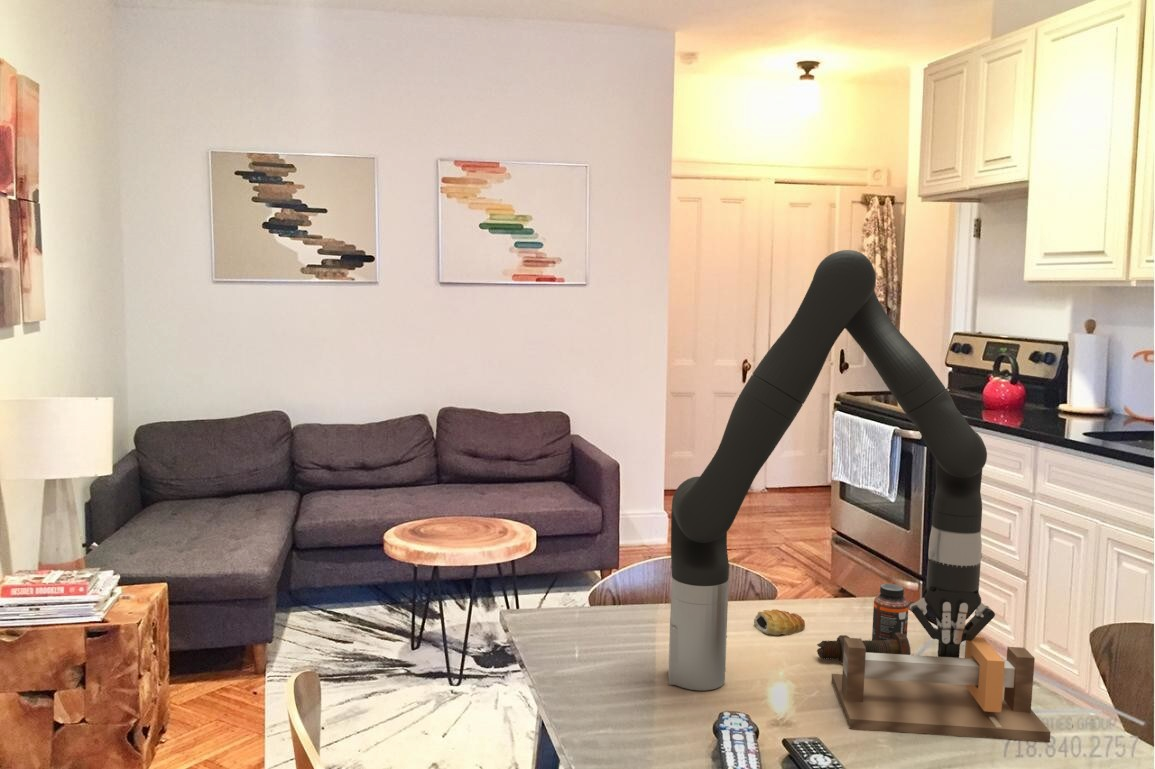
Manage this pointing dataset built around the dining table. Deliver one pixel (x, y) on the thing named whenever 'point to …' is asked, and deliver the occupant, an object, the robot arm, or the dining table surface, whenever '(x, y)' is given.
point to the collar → (986, 674)
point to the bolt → (886, 646)
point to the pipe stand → (934, 695)
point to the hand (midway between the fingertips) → (947, 664)
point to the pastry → (778, 622)
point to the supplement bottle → (889, 613)
